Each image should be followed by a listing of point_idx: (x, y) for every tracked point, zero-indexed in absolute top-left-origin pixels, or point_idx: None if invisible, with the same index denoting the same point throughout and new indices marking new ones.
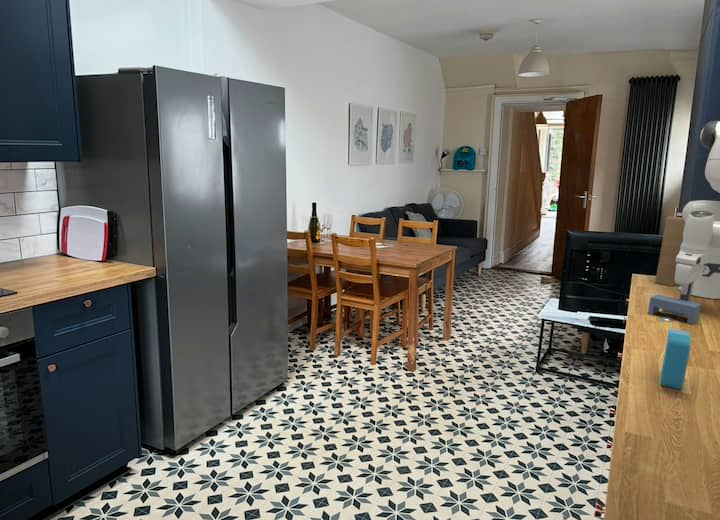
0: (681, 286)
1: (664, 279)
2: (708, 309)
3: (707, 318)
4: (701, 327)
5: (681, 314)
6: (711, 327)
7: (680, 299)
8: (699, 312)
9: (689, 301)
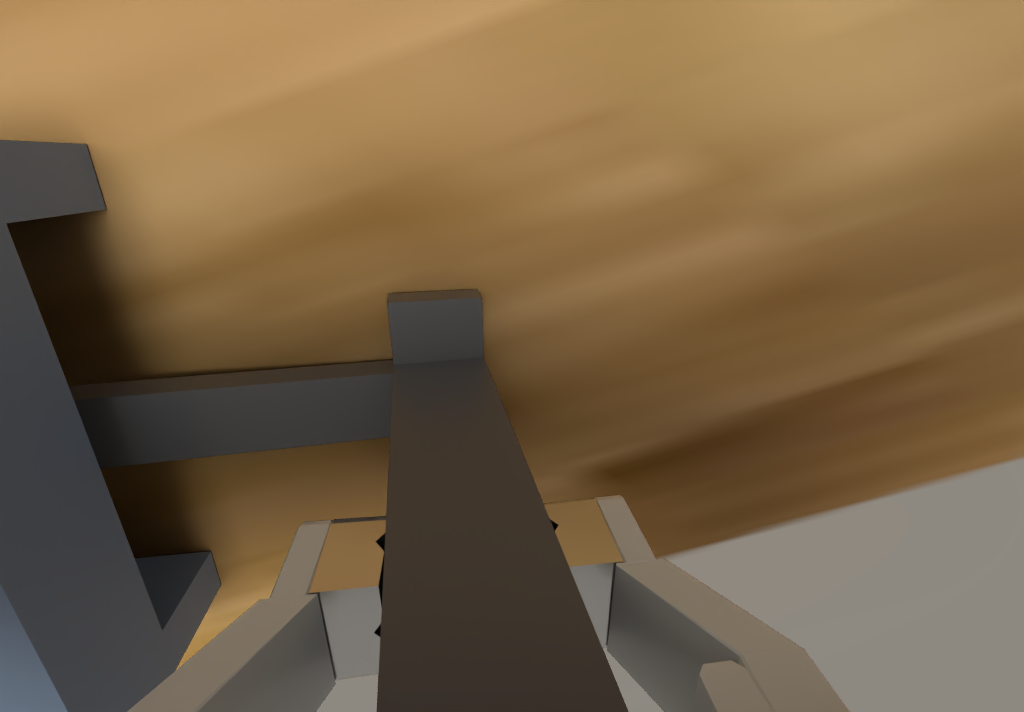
0: (170, 678)
1: None
2: (773, 495)
3: None
4: None
5: None
6: None
7: (391, 431)
8: (166, 669)
9: (54, 686)
